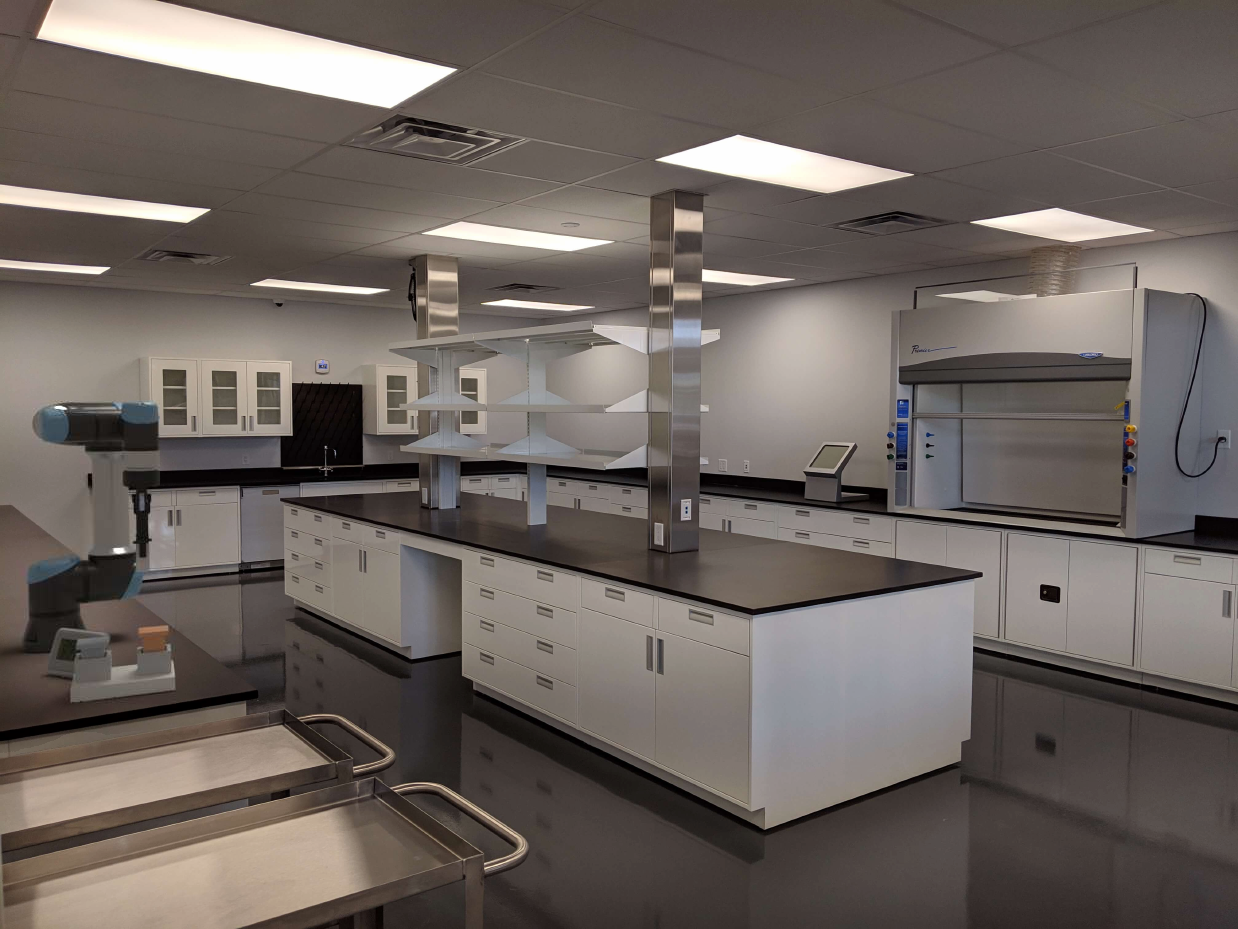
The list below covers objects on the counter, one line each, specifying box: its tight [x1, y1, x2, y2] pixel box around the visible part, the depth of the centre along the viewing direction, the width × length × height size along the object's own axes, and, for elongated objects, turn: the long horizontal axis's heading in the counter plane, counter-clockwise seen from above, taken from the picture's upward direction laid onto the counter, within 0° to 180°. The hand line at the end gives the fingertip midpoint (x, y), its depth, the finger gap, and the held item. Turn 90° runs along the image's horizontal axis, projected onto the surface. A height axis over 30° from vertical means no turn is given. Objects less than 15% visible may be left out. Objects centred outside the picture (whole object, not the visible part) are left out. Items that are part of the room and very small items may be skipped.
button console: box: [69, 643, 176, 704], centre depth 202 cm, size 15×20×8 cm
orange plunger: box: [138, 625, 170, 653], centre depth 205 cm, size 6×6×8 cm
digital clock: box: [45, 628, 111, 679], centre depth 211 cm, size 16×9×11 cm, turn 58°
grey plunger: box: [76, 636, 110, 659], centre depth 199 cm, size 6×6×8 cm
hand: (143, 570), depth 207 cm, fingers closed
